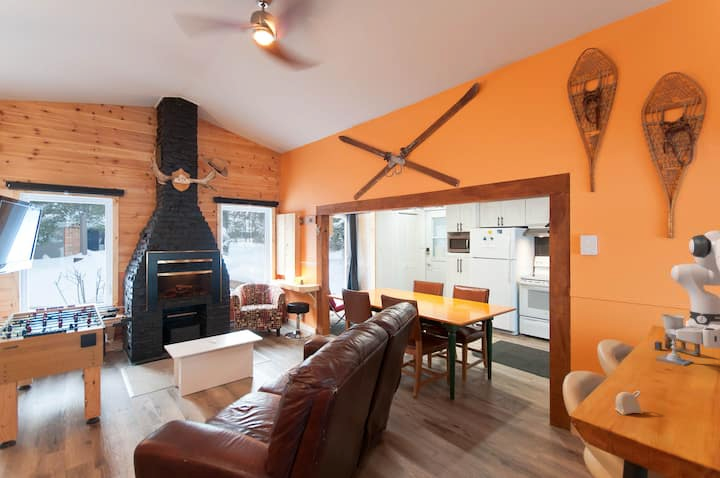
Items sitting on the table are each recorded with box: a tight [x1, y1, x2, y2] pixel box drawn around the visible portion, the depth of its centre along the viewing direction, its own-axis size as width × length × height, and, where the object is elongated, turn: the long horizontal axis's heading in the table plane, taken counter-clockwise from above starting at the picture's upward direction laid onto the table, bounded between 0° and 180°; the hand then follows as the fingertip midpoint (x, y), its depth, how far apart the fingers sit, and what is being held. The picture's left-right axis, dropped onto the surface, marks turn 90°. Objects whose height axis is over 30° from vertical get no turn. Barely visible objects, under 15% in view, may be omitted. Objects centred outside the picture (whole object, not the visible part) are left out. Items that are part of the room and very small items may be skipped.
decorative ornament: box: [614, 390, 644, 416], centre depth 98 cm, size 4×8×5 cm, turn 96°
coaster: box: [655, 354, 694, 367], centre depth 142 cm, size 9×9×1 cm
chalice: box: [661, 314, 686, 361], centre depth 142 cm, size 7×7×18 cm
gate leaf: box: [664, 333, 701, 357], centre depth 153 cm, size 14×2×6 cm, turn 10°
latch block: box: [654, 340, 663, 351], centre depth 158 cm, size 3×2×4 cm, turn 120°
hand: (670, 328), depth 143 cm, fingers open, 8 cm apart
